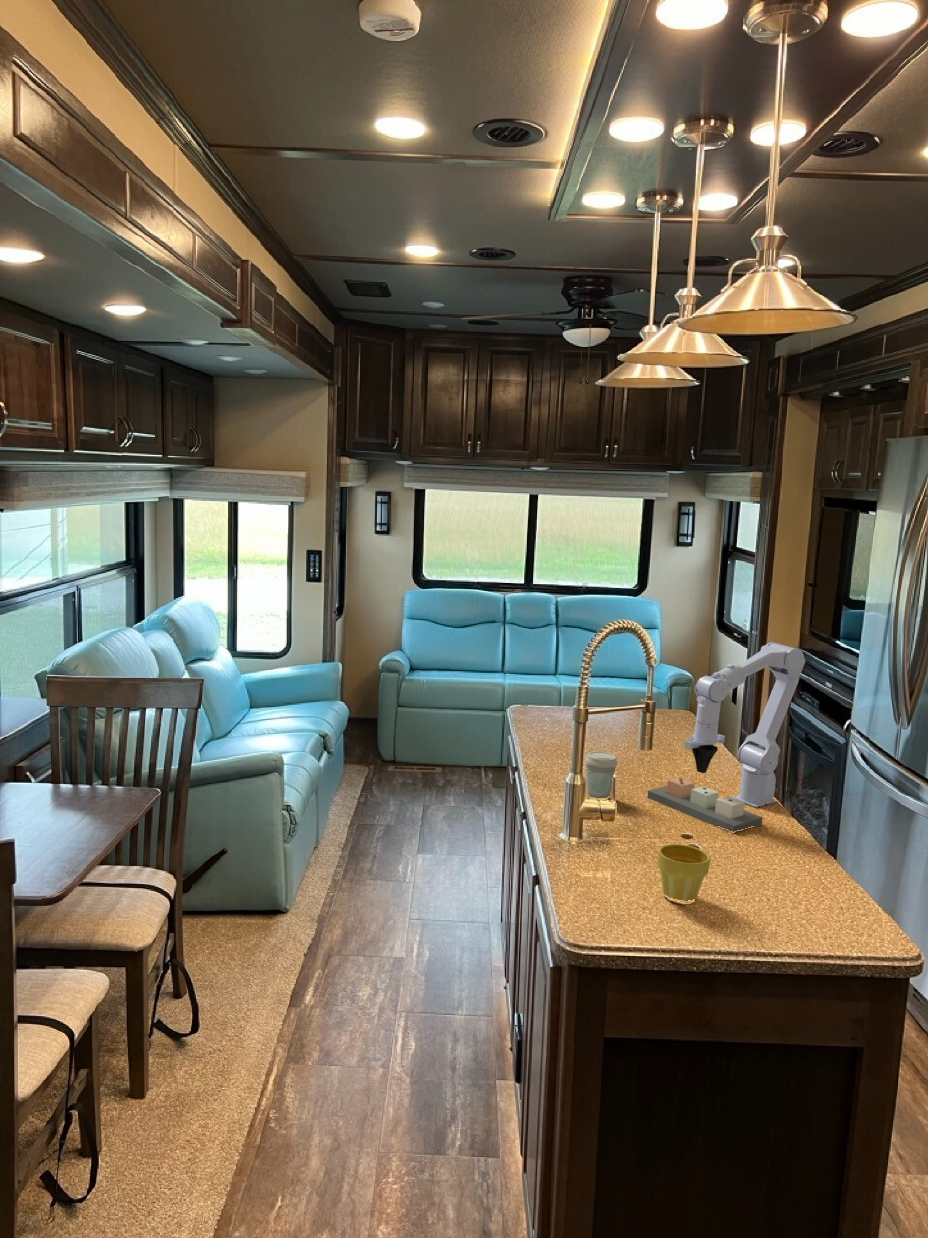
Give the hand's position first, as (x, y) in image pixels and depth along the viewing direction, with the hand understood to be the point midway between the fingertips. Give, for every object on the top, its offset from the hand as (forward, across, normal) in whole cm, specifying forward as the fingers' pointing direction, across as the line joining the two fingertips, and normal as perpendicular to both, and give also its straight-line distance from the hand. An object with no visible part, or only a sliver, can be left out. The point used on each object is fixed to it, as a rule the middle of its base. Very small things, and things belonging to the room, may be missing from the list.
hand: (701, 771), depth 239 cm
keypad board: (+10, 0, +2) cm, 10 cm away
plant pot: (+10, +46, +31) cm, 57 cm away
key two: (+9, 0, +2) cm, 9 cm away
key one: (+9, 0, +10) cm, 13 cm away
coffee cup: (+10, +19, -18) cm, 28 cm away
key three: (+9, 0, -6) cm, 11 cm away
